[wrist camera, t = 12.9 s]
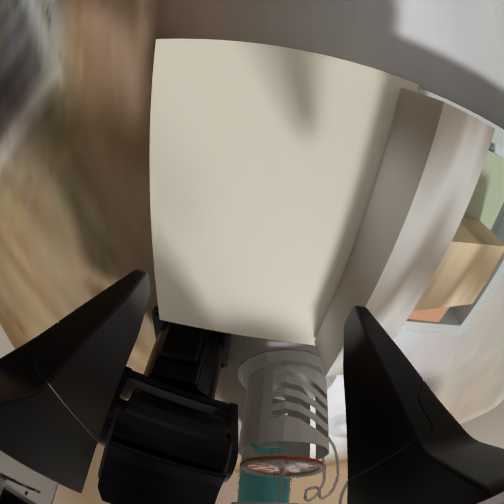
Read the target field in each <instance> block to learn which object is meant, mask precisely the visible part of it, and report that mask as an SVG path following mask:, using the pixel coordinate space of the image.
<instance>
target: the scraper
mask: <svg viewBox="0 0 504 504" xmlns="http://www.w3.org/2000/svg"><path fill="white" fill-rule="evenodd" d="M494 131H495V128H493V127H491V126H490V125H488V124H486V123H484V122H483V121H481V120H479V119H477V118H475V117H473V116H472V115H470V114H468V113H466V112H464V111H462V110H460V109H458V108H456V107H454V106H452V105H450V104H448V103H445V102H443V101H440V100H438V99H435V98H432V97H429V96H426V95H423V94H420V93H417V92H414V91H411V90H408V89H405V88H401V93H400V97H399V101H398V105H397V109H396V113H395V117H394V121H393V125H392V129H391V133H390V136H389V140H388V143H387V147H386V150H385V154H384V157H383V161H382V164H381V167H380V171H379V174H378V177H377V180H376V184H375V187H374V190H373V193H372V196H371V199H370V202H369V205H368V208H367V211H366V214H365V217H364V220H363V222H362V225H361V228H360V231H359V234H358V236H357V239H356V242H355V244H354V247H353V250H352V252H351V255H350V258H349V260H348V263H347V265H346V268H345V271H344V273H343V276H342V278H341V281H340V283H339V285H338V288H337V290H336V293H335V295H334V297H333V300H332V302H331V305H330V307H329V309H328V312H327V314H326V316H325V318H324V321H323V323H322V325H321V327H320V330H319V332H318V334H317V336H316V338H315V341H314V342H315V345H316V348H317V351H318V354H319V358H320V361H321V364H322V367H323V370H324V373H325V377H326V376H334V375H342V374H343V349H344V324H345V321H346V319H347V317H348V315H349V313H350V311H351V309H352V308H353V306H355V305H357V306H364V307H366V308H367V309H368V310H369V311H370V313H371V314H372V315H373V316H374V317H375V319H376V320H377V321H378V322H379V324H380V325H381V326H382V327H383V329H384V330H385V331H386V332H387V334H388V335H389V336H390V337H391V339H392V340H394V338H395V337H396V336H397V334H398V333H399V331H400V330H401V328H402V327H403V325H404V324H405V322H406V321H407V319H408V317H409V316H410V314H411V313H412V311H418V310H427V309H436V308H445V307H453V306H460V305H468V304H472V303H473V302H474V300H475V299H476V297H477V296H478V294H479V293H480V291H481V290H482V288H483V287H484V285H485V283H486V282H487V280H488V278H489V277H490V275H491V274H492V272H493V270H494V268H495V267H496V265H497V263H498V262H499V260H500V258H501V256H502V254H503V253H504V244H503V243H502V242H501V240H500V239H498V238H497V237H496V236H495V235H494V234H493V233H492V232H491V231H490V230H489V229H488V228H487V227H486V226H485V225H484V224H483V223H482V222H481V221H480V220H475V219H469V218H464V217H463V216H464V213H465V211H466V209H467V206H468V204H469V202H470V199H471V197H472V194H473V192H474V189H475V187H476V184H477V182H478V179H479V176H480V174H481V171H482V168H483V165H484V162H485V159H486V156H487V153H488V150H489V147H490V144H491V141H492V138H493V134H494Z"/></svg>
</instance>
